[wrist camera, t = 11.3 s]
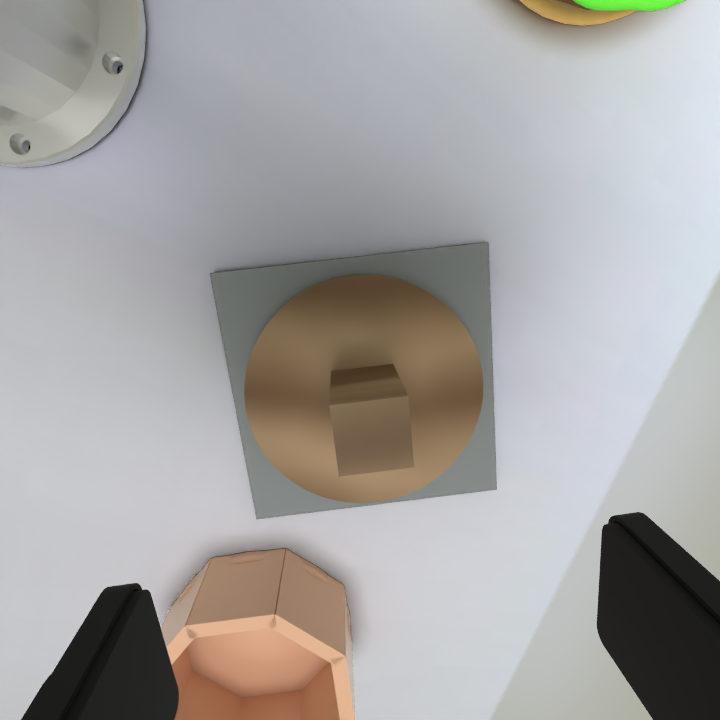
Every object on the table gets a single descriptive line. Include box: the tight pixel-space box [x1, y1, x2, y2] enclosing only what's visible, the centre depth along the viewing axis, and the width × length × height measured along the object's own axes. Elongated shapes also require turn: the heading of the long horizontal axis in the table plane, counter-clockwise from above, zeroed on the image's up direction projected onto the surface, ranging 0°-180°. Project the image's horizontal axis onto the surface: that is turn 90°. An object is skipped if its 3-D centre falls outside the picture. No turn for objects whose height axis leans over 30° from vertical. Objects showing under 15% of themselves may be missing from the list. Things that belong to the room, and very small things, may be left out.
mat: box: [210, 242, 497, 519], centre depth 25 cm, size 14×14×1 cm
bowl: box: [161, 549, 355, 720], centre depth 26 cm, size 11×11×5 cm
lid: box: [244, 274, 483, 503], centre depth 22 cm, size 12×12×6 cm
